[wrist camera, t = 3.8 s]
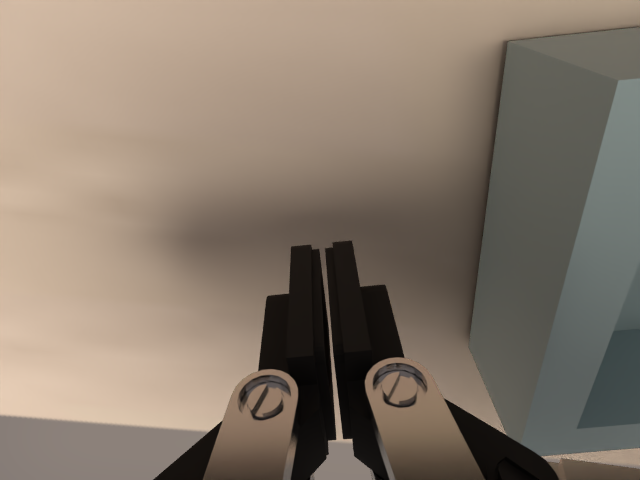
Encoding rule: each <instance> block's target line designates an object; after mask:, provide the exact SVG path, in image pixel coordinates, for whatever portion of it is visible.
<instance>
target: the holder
mask: <svg viewBox="0 0 640 480" xmlns="http://www.w3.org/2000/svg"><path fill="white" fill-rule="evenodd" d="M469 349H470V352H471V354H472V356H473V358H474V361H475V363H476V365H477V368H478V370H479V372H480V374H481V377H482V379H483V381H484V384H485V386H486V388H487V390H488V393H489V395H490V397H491V400H492V402H493V404H494V407H495V409H496V411H497V413H498V416H499V418H500V420H501V423H502V425H503V427H504V429H505V432H506V434H507V436H508V437H510V438H512V439H513V440H515V441H517V442H519V443H520V444H522V445H524V446H525V447H527V448H529V449H530V450H532V451H534V452H535V453H536V454H538V455H539V456H549V455H560V454H572V453H584V452H596V451H607V450H619V449H631V448H640V27H635V28H625V29H616V30H607V31H598V32H589V33H580V34H571V35H561V36H552V37H543V38H534V39H525V40H516V41H508V44H507V52H506V60H505V68H504V75H503V83H502V91H501V99H500V106H499V114H498V122H497V130H496V137H495V145H494V153H493V161H492V169H491V176H490V184H489V192H488V200H487V207H486V215H485V223H484V231H483V238H482V246H481V254H480V262H479V270H478V277H477V285H476V293H475V301H474V308H473V316H472V324H471V332H470V340H469Z"/></svg>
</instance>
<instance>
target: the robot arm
mask: <svg viewBox="0 0 640 480" xmlns="http://www.w3.org/2000/svg"><path fill="white" fill-rule="evenodd" d="M332 243H333V248H325V252H326V265H327V278H328V291H329V304H330V317H331V330H332V343H333V354H334V363H335V372H336V381H337V389H338V398H339V406H340V415H341V423H342V432H343V439H352V440H353V450H354V456H355V457H356V458H357V459H359V460H360V461H361V462H362V463H364V464H365V465H366V466H367V467H369V468H370V470H371V477H372V480H640V469H636V468H629V467H622V466H614V465H607V464H600V463H592V462H585V461H577V460H570V459H563V458H561V460H560V462H559V463H554V462H547V461H546V460H544V459H543V458H542V457H540V456H539V455H538V454H536V453H535V452H534V451H532V450H530V449H529V448H527V447H525V446H524V445H522V444H520V443H519V442H517V441H515V440H513V439H512V438H510V437H508V436H507V435H505V434H503V433H502V432H500V431H498V430H497V429H495V428H493V427H492V426H490V425H488V424H486V423H485V422H483V421H481V420H480V419H478V418H476V417H475V416H473V415H471V414H470V413H468V412H466V411H465V410H463V409H461V408H460V407H458V406H456V405H454V404H453V403H451V402H449V401H448V400H446V399H444V398H443V396H442V394H441V392H440V390H439V389H438V387H437V385H436V383H435V381H434V379H433V377H432V375H431V374H430V373H429V371H428V370H427V369H426V368H425V367H423V366H422V365H421V364H420V363H418V362H415V361H413V360H411V359H406V358H404V354H403V350H402V346H401V342H400V339H399V335H398V331H397V327H396V323H395V319H394V315H393V312H392V308H391V304H390V300H389V296H388V292H387V289H386V286H385V284H384V285H374V286H364V287H360V283H359V278H358V272H357V266H356V261H355V255H354V249H353V244H352V241H342V242H332ZM329 440H336V428H335V413H334V399H333V385H332V370H331V356H330V341H329V328H328V318H327V310H326V302H325V293H324V285H323V277H322V268H321V260H320V252H319V249H314V250H312V247H311V245H302V246H292V247H291V263H290V285H289V294H282V295H271V296H268V297H267V300H266V307H265V316H264V325H263V334H262V342H261V351H260V360H259V369H258V371H257V372H255V373H252V374H250V375H249V376H247V377H245V378H244V379H243V380H242V381H241V382H240V383H239V384H238V385H237V386H236V387H235V389H234V391H233V393H232V395H231V398H230V401H229V404H228V407H227V410H226V413H225V415H224V418H223V421H221V422H220V423H219V424H218V425H217V426H216V427H214V428H213V429H212V430H211V431H210V432H209V433H207V434H206V435H205V436H204V437H203V438H202V439H200V440H199V441H198V442H197V443H196V444H195V445H193V446H192V447H191V448H190V449H189V450H188V451H187V452H185V453H184V454H183V455H182V456H180V457H179V458H178V459H177V460H176V461H175V462H174V463H172V464H171V465H170V466H169V467H168V468H166V469H165V470H164V471H163V472H162V473H161V474H159V475H158V476H157V477H156V478H155V479H154V480H314V472H315V471H316V469H317V468H318V467H319V466H320V465H321V464H322V463H323V462H324V461H325V460H326V455H328V454H329V453H328V441H329Z"/></svg>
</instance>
